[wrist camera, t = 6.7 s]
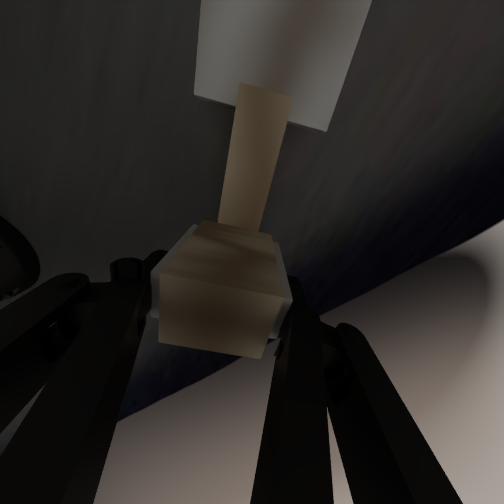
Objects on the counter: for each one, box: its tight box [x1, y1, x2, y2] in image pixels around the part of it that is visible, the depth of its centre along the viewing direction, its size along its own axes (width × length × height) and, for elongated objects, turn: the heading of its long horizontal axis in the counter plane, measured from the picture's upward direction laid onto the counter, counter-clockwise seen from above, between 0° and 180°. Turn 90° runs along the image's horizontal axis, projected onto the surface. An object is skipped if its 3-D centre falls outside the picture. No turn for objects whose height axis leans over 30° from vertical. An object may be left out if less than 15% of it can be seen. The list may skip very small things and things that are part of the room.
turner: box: [158, 0, 372, 359], centre depth 11 cm, size 8×23×8 cm, turn 167°
